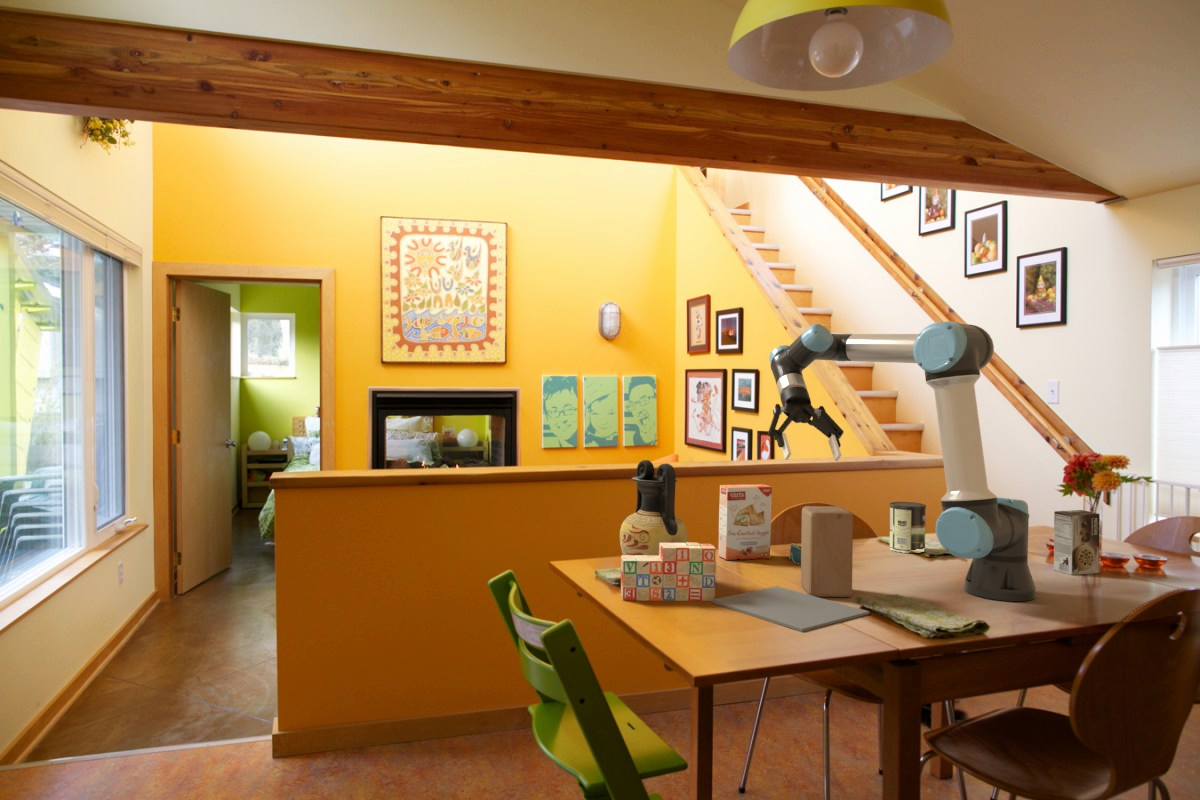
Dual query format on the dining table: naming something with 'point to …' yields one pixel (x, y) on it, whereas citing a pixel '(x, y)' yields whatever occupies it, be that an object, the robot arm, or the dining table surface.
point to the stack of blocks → (670, 573)
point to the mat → (790, 608)
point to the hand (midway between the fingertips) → (813, 457)
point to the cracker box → (744, 521)
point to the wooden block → (826, 551)
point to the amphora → (652, 513)
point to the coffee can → (907, 526)
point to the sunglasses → (795, 553)
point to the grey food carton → (1076, 542)
